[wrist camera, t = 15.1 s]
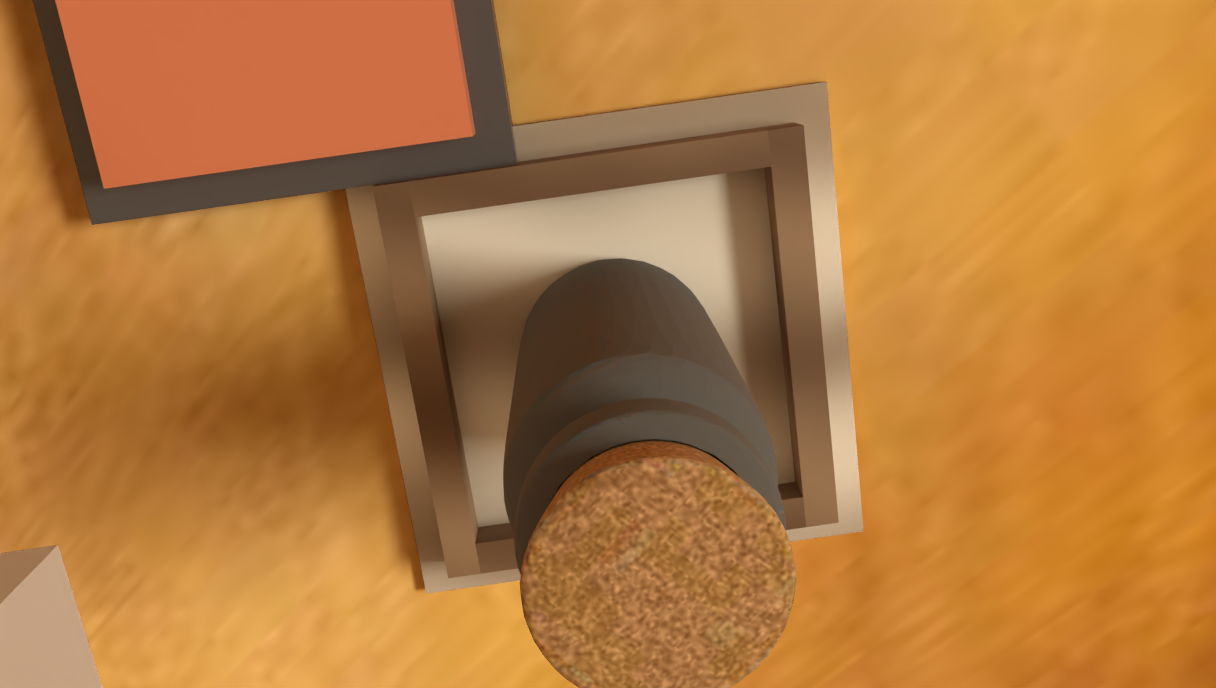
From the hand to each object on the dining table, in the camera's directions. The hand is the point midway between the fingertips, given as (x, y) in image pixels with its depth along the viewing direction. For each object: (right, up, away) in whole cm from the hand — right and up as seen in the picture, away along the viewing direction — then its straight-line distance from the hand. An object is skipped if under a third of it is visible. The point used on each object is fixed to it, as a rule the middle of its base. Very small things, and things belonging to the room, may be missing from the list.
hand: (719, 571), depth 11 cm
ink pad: (-10, +12, +19) cm, 25 cm away
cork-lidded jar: (-1, +2, +22) cm, 22 cm away
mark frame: (-1, +2, +22) cm, 22 cm away
